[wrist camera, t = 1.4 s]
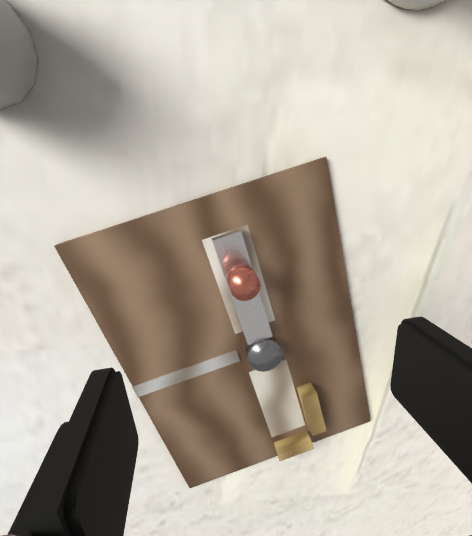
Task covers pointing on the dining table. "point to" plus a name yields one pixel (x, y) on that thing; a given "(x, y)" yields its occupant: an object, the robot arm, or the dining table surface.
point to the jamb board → (230, 321)
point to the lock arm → (247, 301)
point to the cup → (15, 57)
